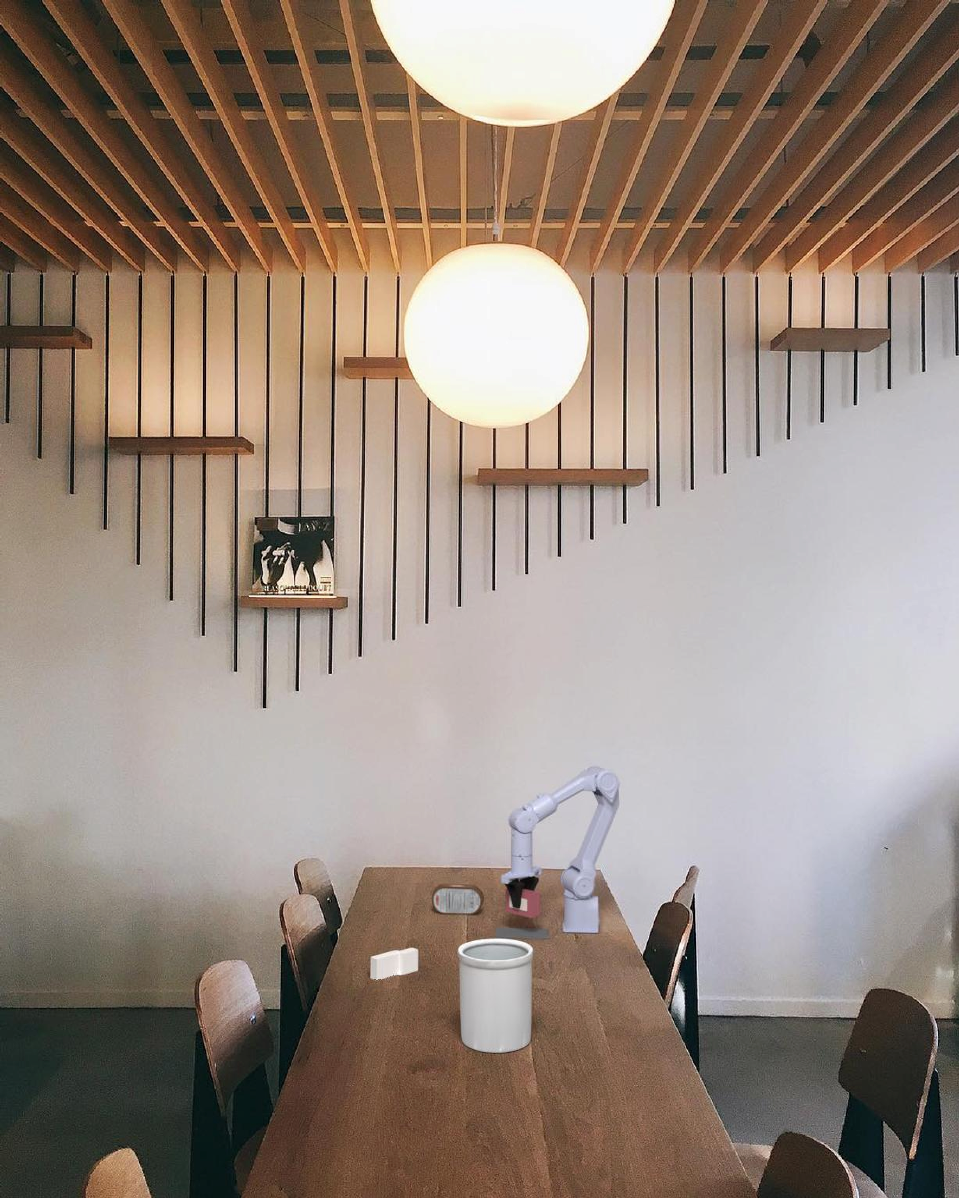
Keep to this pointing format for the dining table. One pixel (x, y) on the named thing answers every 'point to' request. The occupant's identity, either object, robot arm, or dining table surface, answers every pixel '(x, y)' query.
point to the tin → (457, 899)
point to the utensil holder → (495, 994)
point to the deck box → (525, 904)
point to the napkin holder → (394, 963)
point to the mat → (521, 933)
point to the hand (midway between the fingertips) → (521, 905)
